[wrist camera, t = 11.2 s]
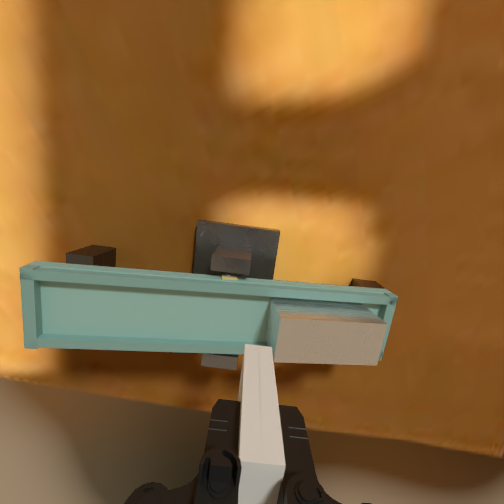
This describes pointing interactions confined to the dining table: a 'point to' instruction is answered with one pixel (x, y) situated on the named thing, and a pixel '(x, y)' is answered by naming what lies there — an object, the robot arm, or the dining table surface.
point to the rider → (323, 332)
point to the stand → (217, 262)
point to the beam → (164, 308)
